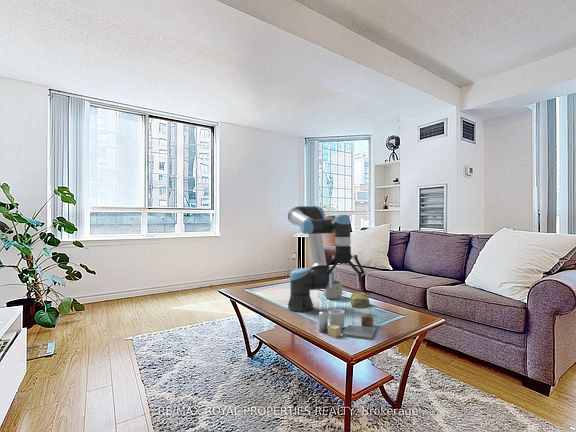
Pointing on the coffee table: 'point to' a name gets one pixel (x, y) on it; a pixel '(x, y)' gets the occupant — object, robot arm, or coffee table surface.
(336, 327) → the ochre block
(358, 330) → the coaster
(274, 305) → the coffee table surface
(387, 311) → the coffee table surface
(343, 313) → the cup
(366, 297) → the pastry
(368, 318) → the walnut block
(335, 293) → the planter
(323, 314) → the grey peg
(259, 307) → the coffee table surface
